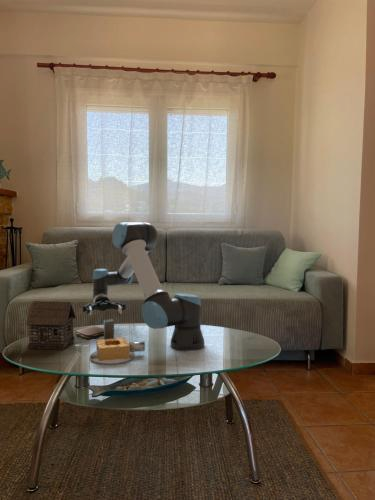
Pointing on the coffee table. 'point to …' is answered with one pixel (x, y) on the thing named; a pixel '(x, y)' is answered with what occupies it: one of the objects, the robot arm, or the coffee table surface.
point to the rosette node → (115, 351)
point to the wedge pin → (109, 329)
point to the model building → (50, 325)
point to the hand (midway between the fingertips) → (106, 311)
